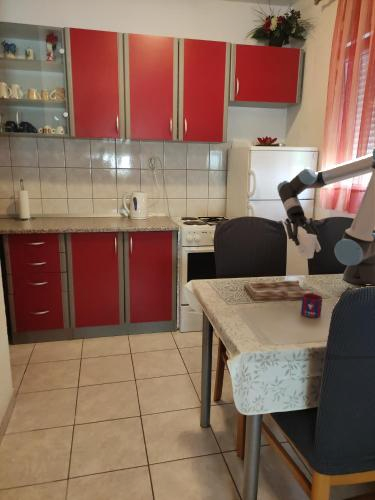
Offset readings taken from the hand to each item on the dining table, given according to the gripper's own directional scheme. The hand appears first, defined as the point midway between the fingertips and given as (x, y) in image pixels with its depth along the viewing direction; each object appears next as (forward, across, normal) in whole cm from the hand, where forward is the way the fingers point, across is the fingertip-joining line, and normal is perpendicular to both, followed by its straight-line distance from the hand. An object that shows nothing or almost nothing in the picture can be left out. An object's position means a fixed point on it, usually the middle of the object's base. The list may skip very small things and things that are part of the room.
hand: (310, 250), depth 159 cm
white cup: (0, 0, -5) cm, 5 cm away
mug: (+32, +17, +10) cm, 37 cm away
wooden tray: (+16, +19, -6) cm, 25 cm away
